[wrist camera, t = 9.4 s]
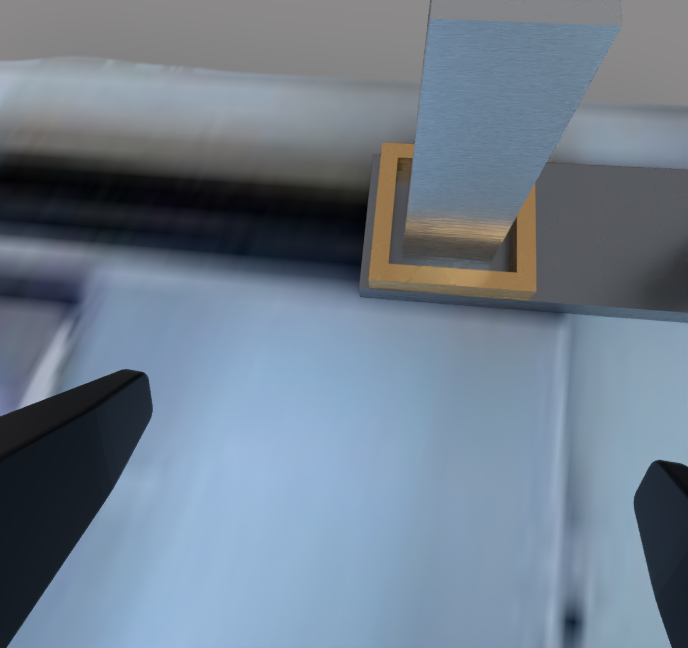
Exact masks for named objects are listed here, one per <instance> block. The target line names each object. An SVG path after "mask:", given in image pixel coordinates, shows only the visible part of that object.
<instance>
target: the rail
mask: <svg viewBox="0 0 688 648" xmlns="http://www.w3.org/2000/svg"><path fill="white" fill-rule="evenodd" d="M413 148H414V144H404V143H382V151H381V155H373V162H372V171H371V180H370V190H369V199H368V209H367V218H366V227H365V237H364V246H363V256H362V265H361V275H360V284H359V292H360V297H366V298H379V299H392V300H405V301H417V302H430V303H443V304H456V305H469V306H481V307H494V308H507V309H520V310H533V311H545V312H558V313H571V314H584V315H597V316H609V317H622V318H635V319H648V320H661V321H673V322H686V323H688V170H683V169H663V168H642V167H621V166H600V165H580V164H559V163H546V164H545V166H544V168H543V170H542V171H541V173H540V175H539V177H538V179H537V180H536V182H535V184H534V186H533V188H532V189H531V191H530V193H529V195H528V197H527V199H526V200H525V202H524V204H523V206H522V208H521V209H520V211H519V213H518V215H517V217H516V218H515V220H514V222H513V224H512V226H511V227H510V229H509V231H508V233H507V235H506V236H505V238H504V240H503V242H502V244H501V246H500V247H499V249H498V251H497V253H496V255H495V256H494V258H493V260H492V262H491V264H479V263H467V262H456V261H445V260H434V259H422V258H411V257H402V252H403V242H404V232H405V223H406V213H407V203H408V193H409V184H410V175H411V166H412V157H413Z"/></svg>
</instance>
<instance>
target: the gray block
mask: <svg viewBox="0 0 688 648" xmlns="http://www.w3.org/2000/svg"><path fill="white" fill-rule="evenodd" d="M621 27H622V14H621V0H430V7H429V16H428V25H427V34H426V43H425V51H424V60H423V69H422V78H421V87H420V95H419V104H418V113H417V122H416V131H415V139H414V148H413V157H412V166H411V175H410V184H409V193H408V203H407V213H406V223H405V232H404V242H403V252H402V257H411V258H422V259H434V260H445V261H456V262H467V263H479V264H491V262H492V260H493V258H494V256H495V255H496V253H497V251H498V249H499V247H500V246H501V244H502V242H503V240H504V238H505V236H506V235H507V233H508V231H509V229H510V227H511V226H512V224H513V222H514V220H515V218H516V217H517V215H518V213H519V211H520V209H521V208H522V206H523V204H524V202H525V200H526V199H527V197H528V195H529V193H530V191H531V189H532V188H533V186H534V184H535V182H536V180H537V179H538V177H539V175H540V173H541V171H542V170H543V168H544V166H545V164H546V162H547V161H548V159H549V157H550V155H551V153H552V152H553V150H554V148H555V146H556V144H557V142H558V141H559V139H560V137H561V135H562V133H563V132H564V130H565V128H566V126H567V124H568V123H569V121H570V119H571V117H572V115H573V114H574V112H575V110H576V108H577V106H578V105H579V103H580V101H581V99H582V97H583V95H584V94H585V92H586V90H587V88H588V86H589V85H590V83H591V81H592V79H593V77H594V76H595V73H596V72H597V70H598V68H599V67H600V65H601V63H602V61H603V59H604V57H605V56H606V54H607V52H608V50H609V48H610V47H611V45H612V43H613V41H614V39H615V38H616V36H617V34H618V32H619V30H620V29H621Z"/></svg>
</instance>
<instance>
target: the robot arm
mask: <svg viewBox="0 0 688 648" xmlns="http://www.w3.org/2000/svg"><path fill="white" fill-rule="evenodd" d="M152 412H153V405H152V398H151V391H150V384H149V379H148V376H147V375H146V374H145V373H144V372H140V371H135V370H129V369H123V370H120V371H118V372H115V373H112V374H110V375H107V376H104V377H102V378H99V379H97V380H94V381H91V382H89V383H86V384H84V385H81V386H78V387H76V388H73V389H71V390H68V391H65V392H63V393H60V394H58V395H55V396H52V397H50V398H47V399H44V400H42V401H39V402H37V403H34V404H31V405H29V406H26V407H24V408H21V409H18V410H16V411H13V412H11V413H8V414H5V415H3V416H0V648H7V646H8V645H9V643H10V642H11V641H12V639H13V638H14V636H15V635H16V633H17V632H18V630H19V629H20V627H21V626H22V624H23V623H24V621H25V620H26V618H27V617H28V615H29V614H30V612H31V611H32V609H33V608H34V606H35V605H36V603H37V602H38V600H39V599H40V597H41V596H42V594H43V593H44V591H45V590H46V588H47V587H48V585H49V584H50V583H51V581H52V580H53V578H54V577H55V575H56V574H57V572H58V571H59V569H60V568H61V566H62V565H63V563H64V562H65V560H66V559H67V557H68V556H69V554H70V553H71V551H72V550H73V548H74V547H75V545H76V544H77V542H78V541H79V539H80V538H81V536H82V535H83V533H84V532H85V530H86V529H87V528H88V526H89V525H90V523H91V522H92V520H93V519H94V517H95V516H96V514H97V513H98V511H99V510H100V508H101V507H102V505H103V504H104V502H105V501H106V499H107V498H108V496H109V494H110V493H111V491H112V490H113V488H114V486H115V485H116V483H117V481H118V479H119V478H120V476H121V474H122V472H123V470H124V468H125V466H126V464H127V463H128V461H129V459H130V457H131V455H132V453H133V451H134V449H135V448H136V446H137V444H138V442H139V440H140V438H141V436H142V434H143V433H144V431H145V429H146V427H147V425H148V423H149V421H150V419H151V416H152ZM634 510H635V515H636V519H637V523H638V528H639V532H640V536H641V541H642V545H643V549H644V554H645V558H646V563H647V567H648V571H649V576H650V580H651V584H652V588H653V592H654V595H655V599H656V602H657V605H658V609H659V612H660V615H661V618H662V621H663V624H664V627H665V629H666V632H667V635H668V638H669V641H670V644H671V647H672V648H688V467H687V466H686V465H683V464H681V463H675V462H669V461H664V460H656V461H654V462H653V463H651V465H650V466H649V468H648V470H647V472H646V474H645V476H644V478H643V480H642V481H641V483H640V485H639V487H638V489H637V491H636V493H635V496H634Z"/></svg>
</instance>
